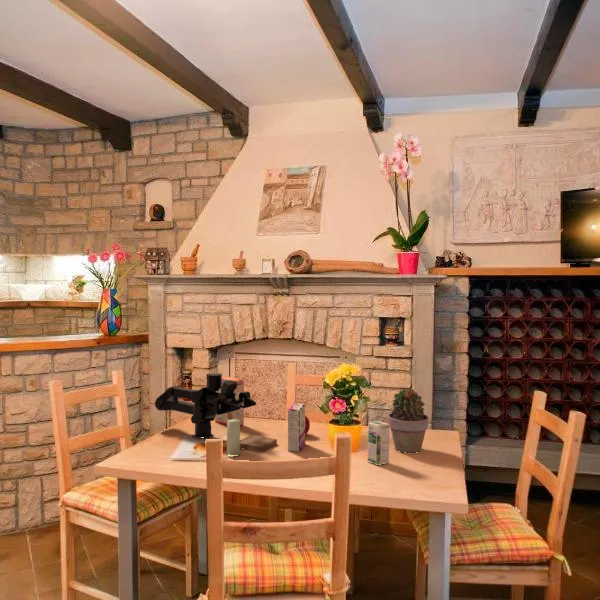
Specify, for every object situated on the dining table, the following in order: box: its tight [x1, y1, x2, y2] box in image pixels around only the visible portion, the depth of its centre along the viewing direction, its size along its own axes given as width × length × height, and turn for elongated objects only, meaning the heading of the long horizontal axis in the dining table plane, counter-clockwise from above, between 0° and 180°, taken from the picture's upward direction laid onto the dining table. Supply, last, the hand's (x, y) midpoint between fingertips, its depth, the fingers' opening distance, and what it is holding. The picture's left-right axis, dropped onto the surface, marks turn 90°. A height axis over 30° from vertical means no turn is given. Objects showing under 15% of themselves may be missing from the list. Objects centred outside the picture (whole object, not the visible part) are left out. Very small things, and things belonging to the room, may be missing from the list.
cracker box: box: [214, 375, 245, 427], centre depth 252 cm, size 14×6×21 cm, turn 47°
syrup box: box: [367, 420, 391, 465], centre depth 200 cm, size 6×6×14 cm
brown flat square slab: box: [240, 434, 278, 453], centre depth 219 cm, size 12×12×2 cm
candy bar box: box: [287, 402, 306, 453], centre depth 217 cm, size 11×5×16 cm, turn 168°
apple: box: [305, 415, 311, 436], centre depth 235 cm, size 9×9×10 cm
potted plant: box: [387, 388, 432, 454], centre depth 216 cm, size 18×20×25 cm
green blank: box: [226, 419, 241, 455], centre depth 207 cm, size 5×5×13 cm
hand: (248, 405), depth 215 cm, fingers open, 9 cm apart
